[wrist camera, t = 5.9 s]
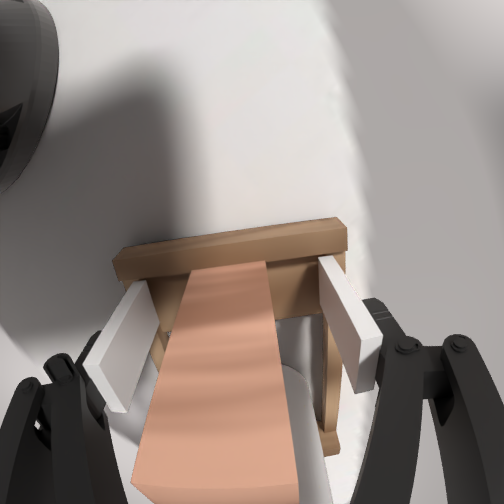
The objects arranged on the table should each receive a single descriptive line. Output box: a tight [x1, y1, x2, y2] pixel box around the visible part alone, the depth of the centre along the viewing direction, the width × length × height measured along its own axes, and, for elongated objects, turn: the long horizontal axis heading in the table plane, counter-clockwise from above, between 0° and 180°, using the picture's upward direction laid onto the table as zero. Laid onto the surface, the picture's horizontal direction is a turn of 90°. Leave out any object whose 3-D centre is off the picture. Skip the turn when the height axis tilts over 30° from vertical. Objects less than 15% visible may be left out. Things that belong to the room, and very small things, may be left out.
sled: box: [112, 217, 348, 504], centre depth 14 cm, size 19×12×13 cm, turn 8°
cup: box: [281, 364, 333, 504], centre depth 16 cm, size 8×8×12 cm
